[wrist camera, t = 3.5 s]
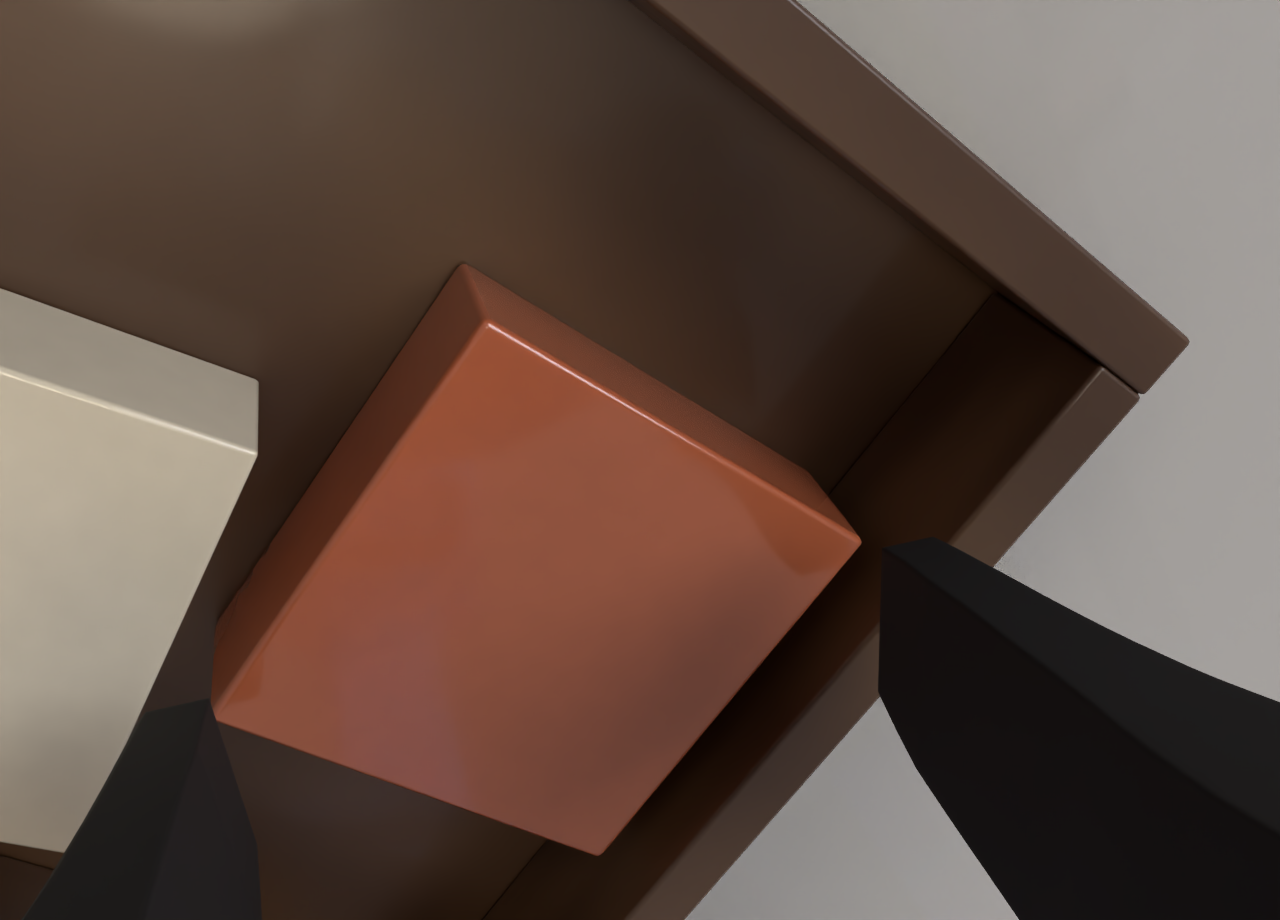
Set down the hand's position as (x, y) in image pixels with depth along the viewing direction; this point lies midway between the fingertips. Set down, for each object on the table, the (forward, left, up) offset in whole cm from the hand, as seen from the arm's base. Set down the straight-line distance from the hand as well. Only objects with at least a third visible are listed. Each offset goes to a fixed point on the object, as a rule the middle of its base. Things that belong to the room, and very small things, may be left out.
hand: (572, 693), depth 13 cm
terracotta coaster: (0, 0, -3) cm, 3 cm away
